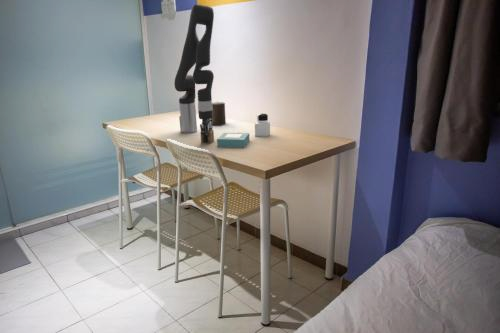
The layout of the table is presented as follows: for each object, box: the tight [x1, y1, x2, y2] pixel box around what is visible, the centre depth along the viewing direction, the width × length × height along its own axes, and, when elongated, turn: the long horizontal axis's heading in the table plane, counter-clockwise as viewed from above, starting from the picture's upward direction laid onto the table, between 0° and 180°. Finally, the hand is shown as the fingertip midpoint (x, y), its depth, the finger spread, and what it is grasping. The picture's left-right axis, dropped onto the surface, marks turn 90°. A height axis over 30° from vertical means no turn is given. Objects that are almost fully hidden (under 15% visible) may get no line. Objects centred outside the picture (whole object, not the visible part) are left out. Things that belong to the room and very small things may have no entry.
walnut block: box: [200, 129, 215, 144], centre depth 199 cm, size 6×6×6 cm
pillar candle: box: [212, 101, 227, 126], centre depth 242 cm, size 10×10×15 cm
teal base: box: [216, 132, 250, 148], centre depth 195 cm, size 14×14×4 cm
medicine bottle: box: [254, 113, 271, 138], centre depth 210 cm, size 7×7×12 cm
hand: (207, 140), depth 200 cm, fingers closed on walnut block, 5 cm apart
